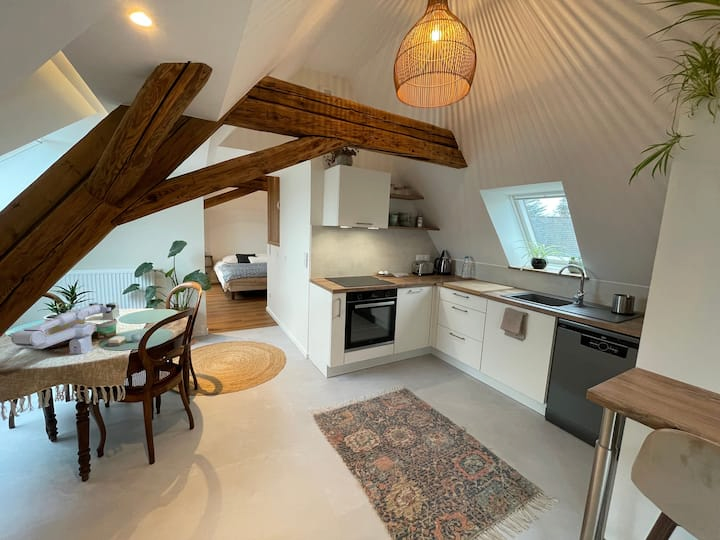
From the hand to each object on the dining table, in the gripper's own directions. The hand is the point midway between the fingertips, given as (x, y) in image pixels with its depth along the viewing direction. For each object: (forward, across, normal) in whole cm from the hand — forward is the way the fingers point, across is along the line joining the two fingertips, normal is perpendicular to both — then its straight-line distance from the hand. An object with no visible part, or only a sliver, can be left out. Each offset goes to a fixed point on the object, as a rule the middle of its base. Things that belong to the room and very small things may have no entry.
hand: (108, 305), depth 188 cm
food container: (+2, +2, +21) cm, 21 cm away
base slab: (-9, -12, +22) cm, 27 cm away
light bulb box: (+37, +29, +19) cm, 51 cm away
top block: (-9, -12, +20) cm, 25 cm away
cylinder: (-4, -19, +21) cm, 29 cm away
